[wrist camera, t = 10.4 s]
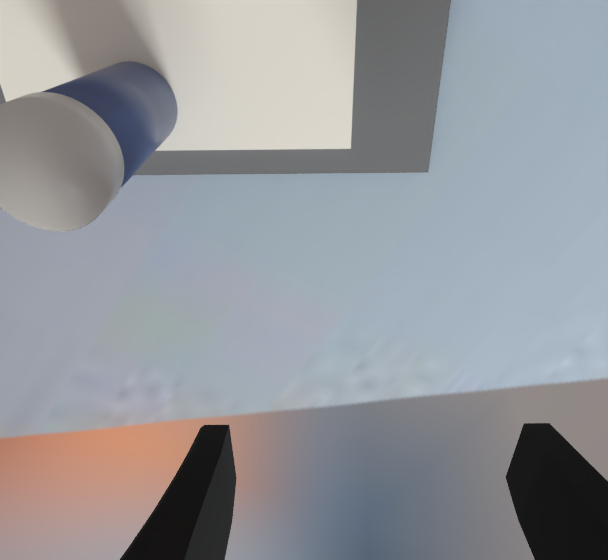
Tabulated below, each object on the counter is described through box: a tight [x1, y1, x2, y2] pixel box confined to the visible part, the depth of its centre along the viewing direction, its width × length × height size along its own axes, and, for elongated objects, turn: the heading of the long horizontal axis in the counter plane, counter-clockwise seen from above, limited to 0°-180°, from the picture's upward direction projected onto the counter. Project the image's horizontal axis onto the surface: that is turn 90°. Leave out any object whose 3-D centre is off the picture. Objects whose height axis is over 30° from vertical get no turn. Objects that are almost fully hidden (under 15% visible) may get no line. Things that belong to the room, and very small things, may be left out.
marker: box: [0, 61, 178, 231], centre depth 13 cm, size 3×3×7 cm
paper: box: [0, 0, 357, 151], centre depth 15 cm, size 12×8×1 cm, turn 91°
